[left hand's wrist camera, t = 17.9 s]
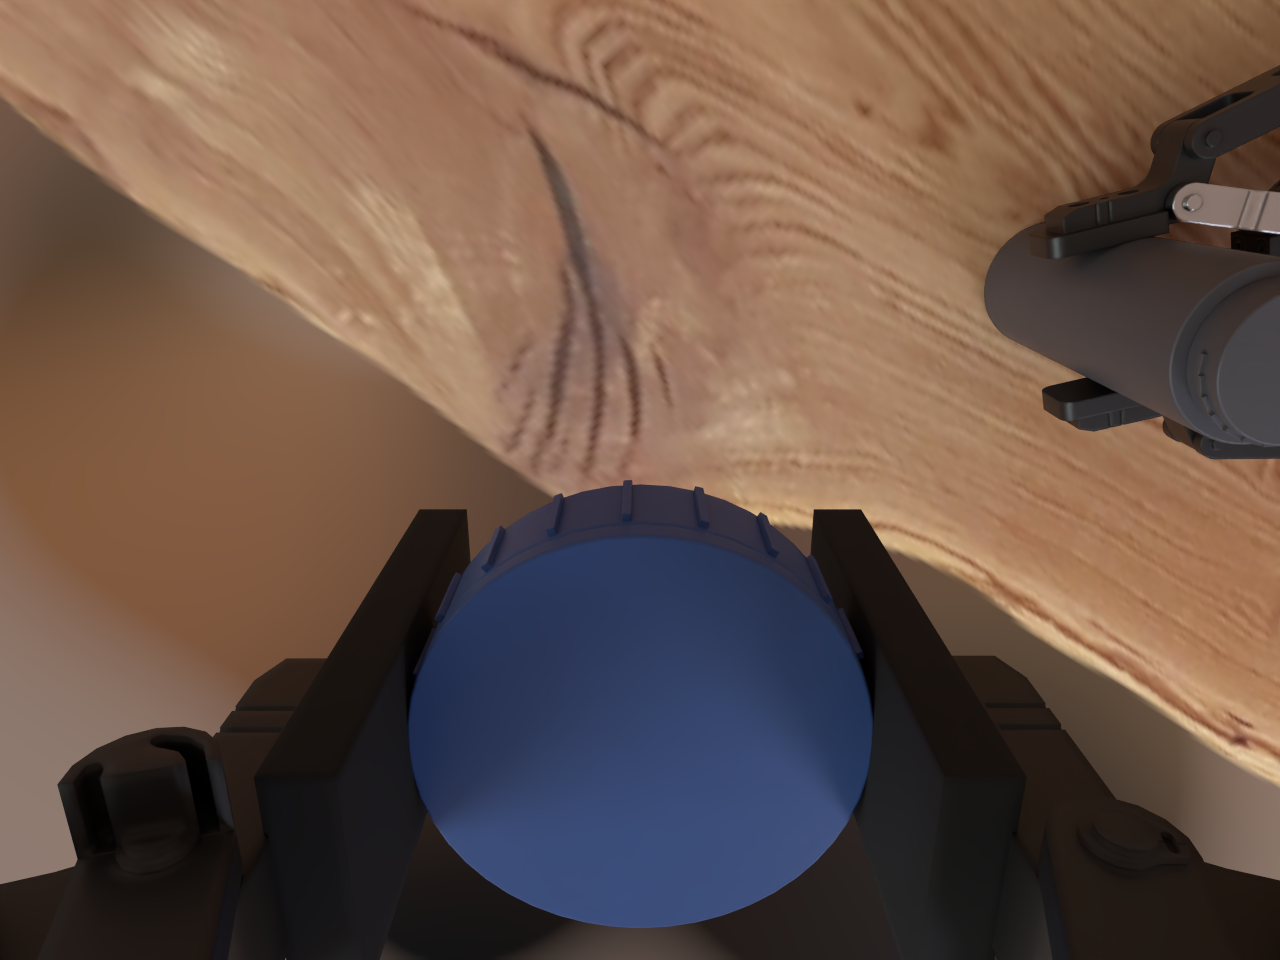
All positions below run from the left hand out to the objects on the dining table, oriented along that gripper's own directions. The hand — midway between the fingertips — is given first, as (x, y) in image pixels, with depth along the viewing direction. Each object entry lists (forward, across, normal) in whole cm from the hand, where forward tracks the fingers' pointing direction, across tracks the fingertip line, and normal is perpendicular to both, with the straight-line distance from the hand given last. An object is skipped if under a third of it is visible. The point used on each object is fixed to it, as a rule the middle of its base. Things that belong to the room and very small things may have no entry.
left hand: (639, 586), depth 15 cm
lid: (-4, 0, 0) cm, 4 cm away
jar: (+24, +17, +2) cm, 29 cm away
